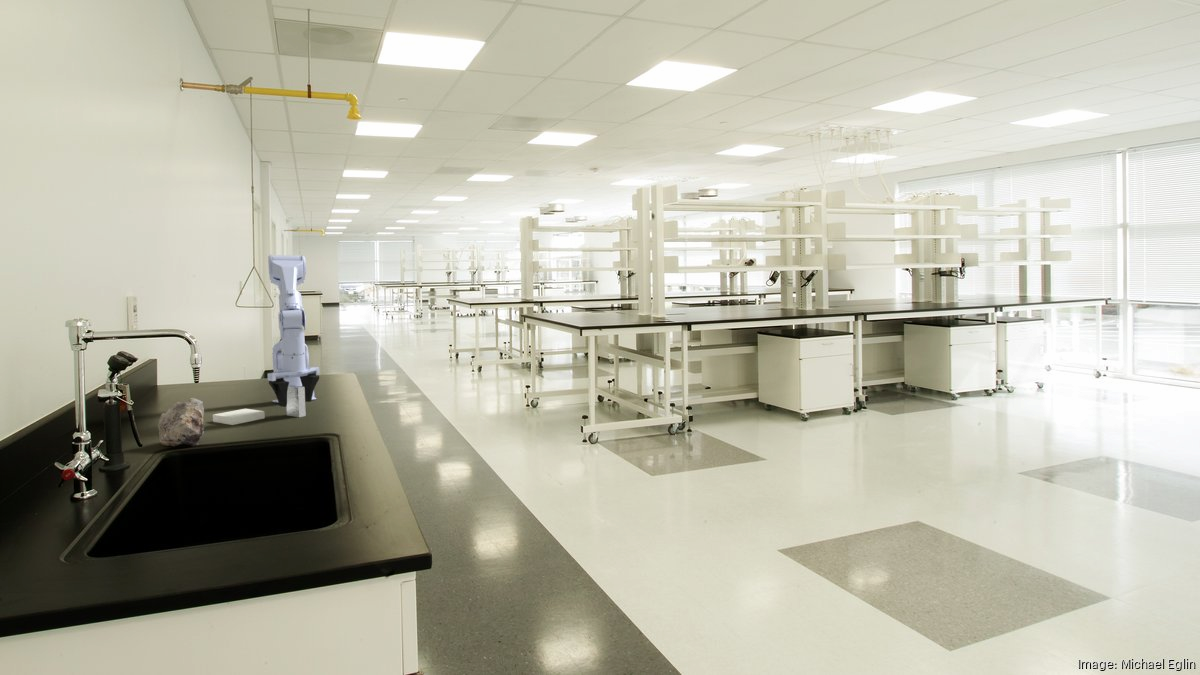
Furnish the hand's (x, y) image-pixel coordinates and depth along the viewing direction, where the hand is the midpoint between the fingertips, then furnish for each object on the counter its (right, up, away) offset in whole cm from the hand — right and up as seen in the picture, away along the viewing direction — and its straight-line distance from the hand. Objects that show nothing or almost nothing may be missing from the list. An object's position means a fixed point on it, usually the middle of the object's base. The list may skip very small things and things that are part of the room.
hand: (295, 403), depth 176 cm
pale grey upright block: (0, -3, 0) cm, 3 cm away
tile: (-10, -3, -1) cm, 11 cm away
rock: (-12, -6, -30) cm, 32 cm away
